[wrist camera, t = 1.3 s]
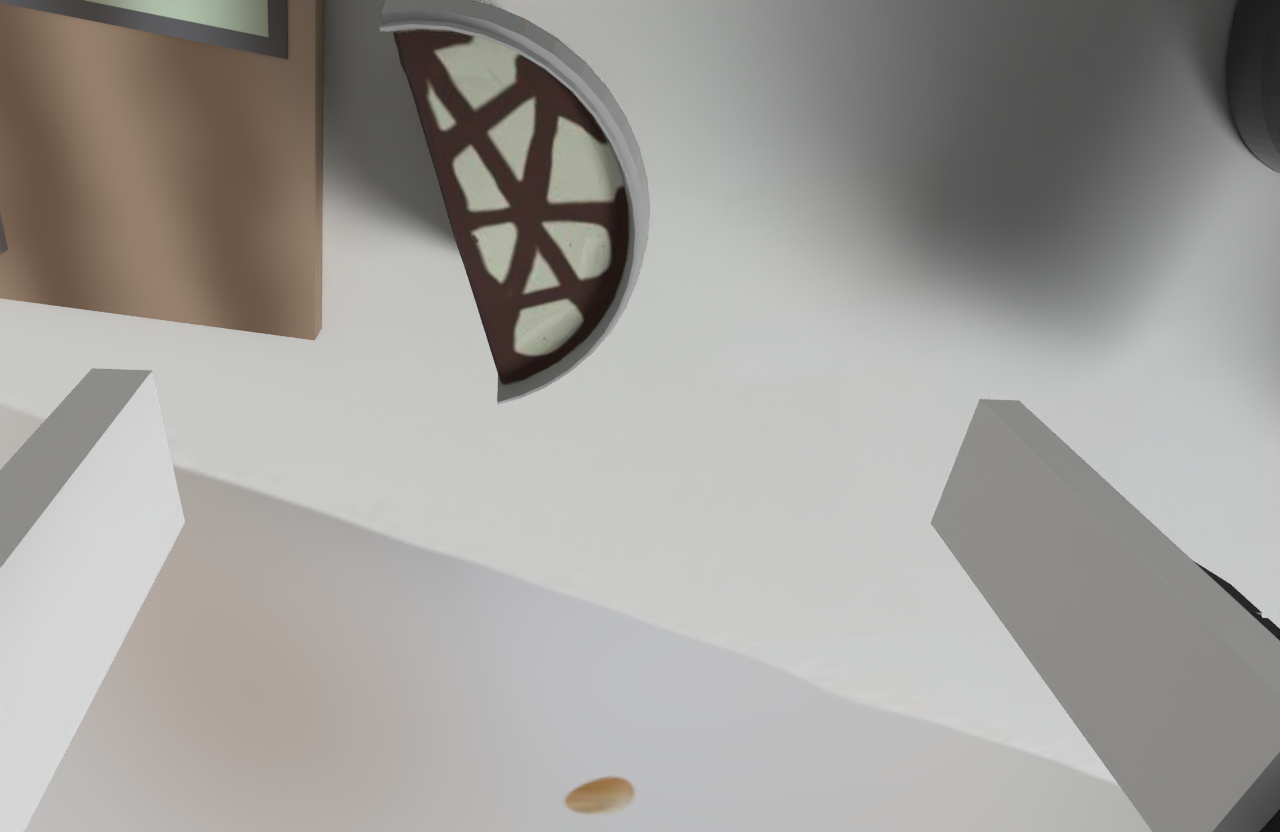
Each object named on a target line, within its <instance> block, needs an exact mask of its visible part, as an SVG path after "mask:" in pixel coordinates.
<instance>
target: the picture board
mask: <svg viewBox="0 0 1280 832" xmlns="http://www.w3.org/2000/svg"><path fill="white" fill-rule="evenodd" d="M323 24H324V0H0V298H3V299H10V300H17V301H25V302H32V303H40V304H47V305H55V306H62V307H70V308H77V309H85V310H92V311H100V312H107V313H115V314H122V315H130V316H137V317H145V318H152V319H160V320H167V321H175V322H182V323H190V324H197V325H205V326H212V327H220V328H227V329H235V330H242V331H250V332H257V333H265V334H272V335H280V336H287V337H294V338H302V339H309V340H315V339H316V337H317V335H318V334H319V332H320V330H321V328H322V183H323Z"/></svg>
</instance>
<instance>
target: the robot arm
mask: <svg viewBox="0 0 1280 832" xmlns="http://www.w3.org/2000/svg"><path fill="white" fill-rule="evenodd" d="M1227 82H1228V94H1229V101H1230V106H1231V111H1232V114H1233V117H1234V121H1235V123H1236V126H1237V128H1238V130H1239V133H1240V135H1241V136H1242V138H1243V140H1244V142H1245V143H1246V145H1247V146H1248V147H1249V149H1250V150H1251V151H1252V152H1253V153H1254V155H1255V156H1256V157H1257V158H1258V159H1259V160H1261V161H1262V162H1263V163H1264V164H1265V165H1267V166H1268V167H1270V168H1271V169H1272V170H1274V171H1276V172H1278V173H1280V0H1240V2H1239V5H1238V9H1237V12H1236V15H1235V20H1234V24H1233V28H1232V33H1231V38H1230V44H1229V53H1228V66H1227ZM184 523H185V521H184V516H183V512H182V507H181V502H180V498H179V493H178V488H177V484H176V479H175V474H174V470H173V465H172V461H171V456H170V451H169V447H168V442H167V437H166V433H165V428H164V423H163V419H162V414H161V410H160V405H159V400H158V396H157V391H156V386H155V382H154V377H153V372H152V371H148V370H119V369H91V370H90V372H89V373H88V374H87V375H86V376H85V377H84V378H83V379H82V380H81V381H80V383H79V384H78V385H77V386H76V387H75V388H74V389H73V390H72V391H71V393H70V394H69V395H68V396H67V397H66V398H65V399H64V400H63V401H62V402H61V404H60V405H59V406H58V407H57V408H56V409H55V410H54V411H53V412H52V414H51V415H50V416H49V417H48V418H47V419H46V420H45V421H44V422H43V423H42V425H41V426H40V427H39V428H38V429H37V430H36V431H35V433H34V434H33V435H32V436H31V437H30V438H29V439H28V440H27V441H26V442H25V443H24V444H23V446H22V447H21V448H20V449H19V450H18V451H17V452H16V453H15V454H14V456H13V457H12V458H11V459H10V460H9V461H8V462H7V464H5V466H4V467H3V468H2V469H1V470H0V832H24V830H25V829H26V827H27V825H28V823H29V821H30V819H31V817H32V815H33V813H34V811H35V809H36V807H37V806H38V804H39V802H40V800H41V798H42V796H43V794H44V792H45V790H46V788H47V786H48V784H49V782H50V781H51V779H52V777H53V775H54V773H55V771H56V769H57V767H58V765H59V763H60V761H61V759H62V757H63V756H64V754H65V752H66V750H67V748H68V746H69V744H70V742H71V740H72V738H73V736H74V734H75V732H76V731H77V729H78V727H79V725H80V723H81V721H82V719H83V717H84V715H85V713H86V711H87V709H88V707H89V706H90V704H91V702H92V700H93V698H94V696H95V694H96V692H97V690H98V688H99V686H100V684H101V682H102V681H103V678H104V677H105V675H106V673H107V671H108V669H109V667H110V665H111V663H112V661H113V659H114V657H115V656H116V654H117V652H118V650H119V648H120V646H121V644H122V642H123V640H124V638H125V636H126V634H127V632H128V631H129V628H130V627H131V625H132V623H133V621H134V619H135V617H136V615H137V613H138V611H139V609H140V607H141V605H142V604H143V601H144V600H145V598H146V596H147V594H148V592H149V590H150V588H151V586H152V584H153V582H154V581H155V579H156V577H157V575H158V573H159V571H160V569H161V567H162V565H163V563H164V561H165V559H166V557H167V555H168V553H169V552H170V550H171V548H172V546H173V544H174V542H175V540H176V538H177V536H178V534H179V532H180V531H181V529H182V527H183V525H184ZM931 524H932V525H933V527H934V528H935V530H936V531H937V532H938V534H939V535H940V537H941V538H942V539H943V541H944V542H945V544H946V545H947V546H948V548H949V549H950V551H951V552H952V553H953V555H954V556H955V557H956V559H957V560H958V562H959V563H960V564H961V566H962V567H963V569H964V570H965V571H966V573H967V574H968V576H969V577H970V578H971V580H972V581H973V583H974V584H975V585H976V587H977V588H978V589H979V591H980V592H981V594H982V595H983V596H984V598H985V599H986V601H987V602H988V603H989V605H990V606H991V608H992V609H993V610H994V612H995V613H996V615H997V616H998V617H999V619H1000V620H1001V621H1002V623H1003V624H1004V626H1005V627H1006V628H1007V630H1008V631H1009V633H1010V634H1011V635H1012V637H1013V638H1014V640H1015V641H1016V642H1017V644H1018V645H1019V647H1020V648H1021V649H1022V651H1023V652H1024V653H1025V655H1026V656H1027V658H1028V659H1029V660H1030V662H1031V663H1032V665H1033V666H1034V667H1035V669H1036V670H1037V672H1038V673H1039V674H1040V676H1041V677H1042V679H1043V680H1044V681H1045V683H1046V684H1047V685H1048V687H1049V688H1050V690H1051V691H1052V692H1053V694H1054V695H1055V697H1056V698H1057V699H1058V701H1059V702H1060V704H1061V705H1062V706H1063V708H1064V709H1065V710H1066V712H1067V713H1068V715H1069V716H1070V717H1071V719H1072V720H1073V722H1074V723H1075V724H1076V726H1077V727H1078V729H1079V730H1080V731H1081V733H1082V734H1083V736H1084V737H1085V738H1086V740H1087V741H1088V742H1089V744H1090V745H1091V747H1092V748H1093V749H1094V751H1095V752H1096V754H1097V755H1098V756H1099V758H1100V759H1101V761H1102V762H1103V763H1104V765H1105V766H1106V768H1107V769H1108V770H1109V772H1110V773H1111V774H1112V776H1113V777H1114V779H1115V780H1116V781H1117V783H1118V784H1119V786H1120V787H1121V788H1122V790H1123V791H1124V793H1125V794H1126V795H1127V797H1128V798H1129V800H1130V801H1131V802H1132V803H1133V805H1134V806H1135V808H1136V809H1137V810H1138V812H1139V813H1140V815H1141V816H1142V818H1143V819H1144V820H1145V822H1146V823H1147V824H1148V826H1149V827H1150V829H1151V830H1152V832H1280V629H1279V628H1278V627H1277V626H1276V625H1275V624H1274V623H1273V622H1272V621H1270V620H1269V619H1268V618H1262V616H1261V613H1262V612H1261V611H1259V610H1258V609H1257V608H1256V607H1255V606H1254V605H1253V604H1252V603H1251V602H1250V601H1248V600H1247V599H1246V598H1245V597H1244V596H1243V595H1242V594H1241V593H1240V592H1238V591H1237V590H1236V589H1235V588H1234V587H1233V586H1232V585H1231V584H1229V583H1228V582H1226V581H1224V580H1223V579H1221V578H1220V577H1218V576H1216V575H1215V574H1213V573H1212V572H1210V571H1208V570H1207V569H1205V568H1204V567H1202V566H1200V565H1199V564H1197V563H1196V562H1194V561H1193V560H1191V559H1190V558H1189V557H1188V556H1187V555H1186V554H1185V553H1184V552H1183V551H1182V550H1181V549H1179V548H1178V547H1177V546H1176V545H1175V544H1174V543H1173V542H1172V541H1171V540H1170V539H1169V538H1168V537H1166V536H1165V535H1164V534H1163V533H1162V532H1161V531H1160V530H1159V529H1158V528H1157V527H1156V526H1154V525H1153V524H1152V523H1151V522H1150V521H1149V520H1148V519H1147V518H1146V517H1145V516H1144V515H1143V514H1141V513H1140V512H1139V511H1138V510H1137V509H1136V508H1135V507H1134V506H1133V505H1132V504H1131V503H1129V502H1128V501H1127V500H1126V499H1125V498H1124V497H1123V496H1122V495H1121V494H1120V493H1119V492H1118V491H1116V490H1115V489H1114V488H1113V487H1112V486H1111V485H1110V484H1109V483H1108V482H1107V481H1106V480H1105V479H1103V478H1102V477H1101V476H1100V475H1099V474H1098V473H1097V472H1096V471H1095V470H1094V469H1093V468H1091V467H1090V466H1089V465H1088V464H1087V463H1086V462H1085V461H1084V460H1083V459H1082V458H1081V457H1080V456H1078V455H1077V454H1076V453H1075V452H1074V451H1073V450H1072V449H1071V448H1070V447H1069V446H1068V445H1067V444H1065V443H1064V442H1063V441H1062V440H1061V439H1060V438H1059V437H1058V436H1057V435H1056V434H1055V433H1053V432H1052V431H1051V430H1050V429H1049V428H1048V427H1047V426H1046V425H1045V424H1044V423H1043V422H1042V421H1040V420H1039V419H1038V418H1037V417H1036V416H1035V415H1034V414H1033V413H1032V412H1031V411H1030V410H1029V409H1027V408H1026V407H1025V406H1024V405H1023V404H1022V403H1021V402H1020V401H1015V400H986V399H980V400H979V403H978V405H977V408H976V410H975V413H974V415H973V418H972V420H971V423H970V425H969V428H968V430H967V433H966V435H965V438H964V440H963V443H962V446H961V448H960V451H959V453H958V456H957V458H956V461H955V463H954V466H953V468H952V471H951V473H950V476H949V478H948V481H947V483H946V486H945V488H944V491H943V493H942V496H941V498H940V501H939V503H938V506H937V509H936V511H935V514H934V516H933V519H932V521H931Z"/></svg>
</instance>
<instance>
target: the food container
mask: <svg viewBox="0 0 1280 832" xmlns="http://www.w3.org/2000/svg"><path fill="white" fill-rule="evenodd" d="M380 15H381V18H382V21H383V24H382V25H381V26H380V27H379V29H380V31H386V32H393V33H394V38H395V42H396V45H397V48H398V52H399V57H400V62H401V65H402V67H403V69H404V71H405V74H406V76H407V79H408V82H409V85H410V88H411V91H412V94H413V97H414V101H415V104H416V107H417V111H418V114H419V117H420V121H421V124H422V127H423V131H424V134H425V137H426V141H427V144H428V147H429V151H430V154H431V157H432V161H433V164H434V167H435V171H436V174H437V178H438V181H439V185H440V188H441V192H442V195H443V199H444V202H445V206H446V210H447V213H448V217H449V220H450V224H451V227H452V231H453V234H454V237H455V240H456V243H457V246H458V249H459V252H460V255H461V258H462V261H463V264H464V267H465V270H466V273H467V276H468V279H469V282H470V285H471V288H472V292H473V295H474V298H475V301H476V304H477V307H478V311H479V314H480V317H481V320H482V324H483V327H484V330H485V333H486V337H487V340H488V343H489V346H490V349H491V353H492V356H493V359H494V362H495V365H496V368H497V371H498V396H497V403H498V404H501V403H504V402H508V401H511V400H515V399H518V398H522V397H524V396H526V395H529V394H531V393H533V392H536V391H538V390H540V389H542V388H545V387H547V386H548V385H550V384H552V383H553V382H555V381H556V380H558V379H560V378H561V377H563V376H564V375H566V374H568V373H569V372H570V371H571V370H573V369H574V368H575V367H577V366H578V365H579V364H580V363H581V362H582V361H584V360H585V359H586V358H587V357H588V356H589V355H591V354H592V353H593V352H594V351H595V350H596V349H597V348H598V346H599V345H600V344H601V343H602V342H603V341H604V339H605V338H606V337H607V336H608V335H609V334H610V332H611V331H612V330H613V328H614V326H615V325H616V323H617V322H618V320H619V318H620V317H621V315H622V313H623V312H624V310H625V309H626V307H627V304H628V302H629V299H630V297H631V295H632V292H633V290H634V287H635V285H636V283H637V279H638V276H639V273H640V270H641V267H642V262H643V258H644V254H645V249H646V245H647V241H648V231H649V216H650V204H649V193H648V182H647V176H646V172H645V168H644V164H643V160H642V156H641V152H640V148H639V146H638V143H637V141H636V139H635V136H634V134H633V132H632V129H631V127H630V125H629V122H628V120H627V118H626V116H625V114H624V113H623V111H622V110H621V108H620V106H619V105H618V103H617V102H616V100H615V98H614V97H613V95H612V94H611V92H610V90H609V89H608V88H607V86H606V85H605V84H604V83H603V82H602V81H601V80H600V78H599V77H598V76H597V75H596V74H595V73H594V71H593V70H592V69H591V68H590V67H589V66H588V64H587V63H586V62H585V61H584V60H582V59H581V58H580V57H579V56H578V55H577V54H575V53H574V52H573V51H572V50H571V49H569V48H568V47H567V46H566V45H565V44H564V43H562V42H561V41H560V40H559V39H558V38H556V37H554V36H553V35H551V34H549V33H548V32H546V31H545V30H543V29H541V28H540V27H538V26H536V25H535V24H533V23H531V22H530V21H528V20H526V19H524V18H522V17H519V16H517V15H514V14H512V13H510V12H507V11H505V10H502V9H500V8H497V7H495V6H492V5H489V4H484V3H480V2H475V1H471V0H385V2H384V5H383V7H382V10H381V13H380Z"/></svg>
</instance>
